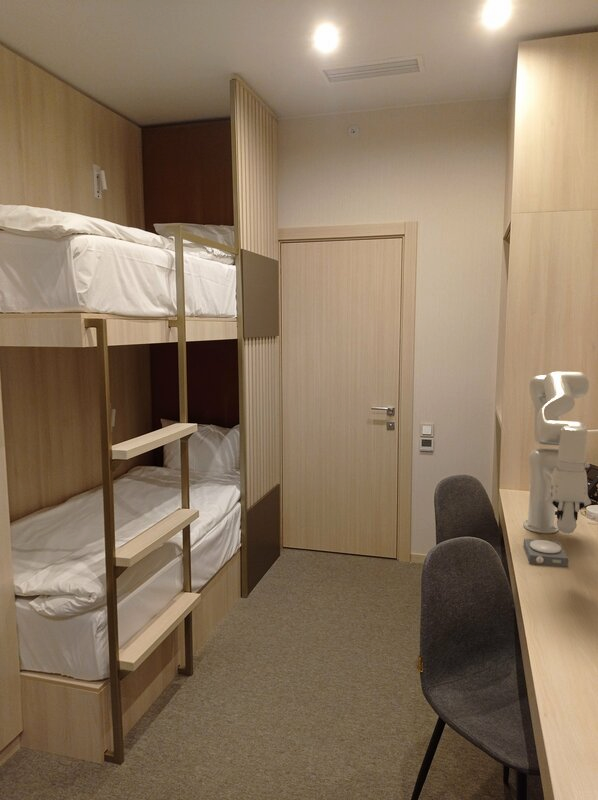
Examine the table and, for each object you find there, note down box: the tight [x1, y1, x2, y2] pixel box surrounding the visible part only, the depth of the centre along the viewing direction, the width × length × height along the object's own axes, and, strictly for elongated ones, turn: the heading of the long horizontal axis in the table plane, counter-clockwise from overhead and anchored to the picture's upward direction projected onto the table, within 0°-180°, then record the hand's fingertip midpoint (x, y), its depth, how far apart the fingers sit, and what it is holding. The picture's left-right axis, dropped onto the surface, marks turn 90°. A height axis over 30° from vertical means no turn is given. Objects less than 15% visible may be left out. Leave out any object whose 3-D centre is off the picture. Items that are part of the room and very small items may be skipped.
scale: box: [523, 538, 569, 568], centre depth 201 cm, size 14×12×4 cm
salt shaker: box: [556, 501, 578, 534], centre depth 183 cm, size 6×6×13 cm
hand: (566, 521), depth 184 cm, fingers closed on salt shaker, 3 cm apart
